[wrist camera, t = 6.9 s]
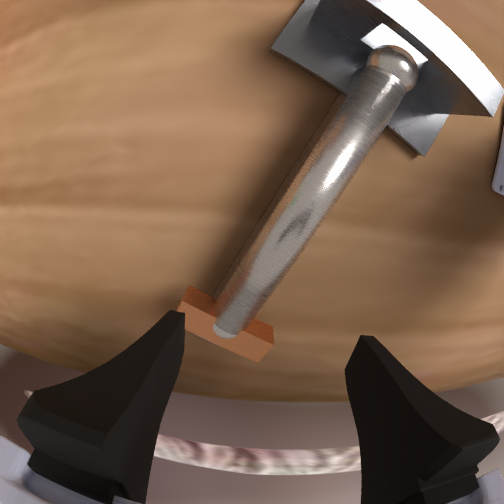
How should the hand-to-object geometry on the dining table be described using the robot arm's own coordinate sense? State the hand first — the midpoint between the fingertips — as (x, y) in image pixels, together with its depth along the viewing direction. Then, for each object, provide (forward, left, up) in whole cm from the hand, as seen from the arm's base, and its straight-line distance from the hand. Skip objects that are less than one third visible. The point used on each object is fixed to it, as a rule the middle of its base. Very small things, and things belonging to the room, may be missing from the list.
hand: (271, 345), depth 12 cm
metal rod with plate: (-1, -5, -7) cm, 9 cm away
